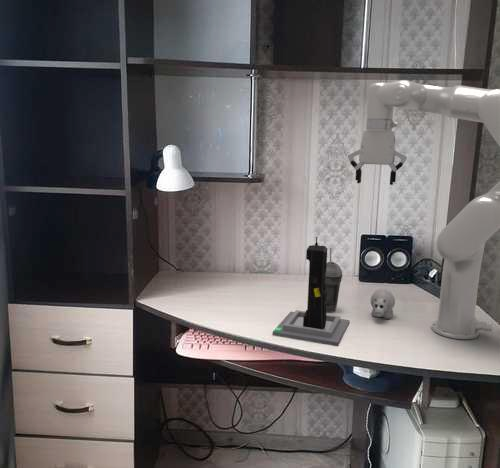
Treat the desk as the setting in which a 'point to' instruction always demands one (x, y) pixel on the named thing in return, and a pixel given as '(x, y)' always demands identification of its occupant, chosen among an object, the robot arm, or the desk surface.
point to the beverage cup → (332, 285)
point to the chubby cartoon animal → (382, 303)
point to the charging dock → (312, 329)
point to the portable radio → (316, 287)
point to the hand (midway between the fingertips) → (374, 183)
